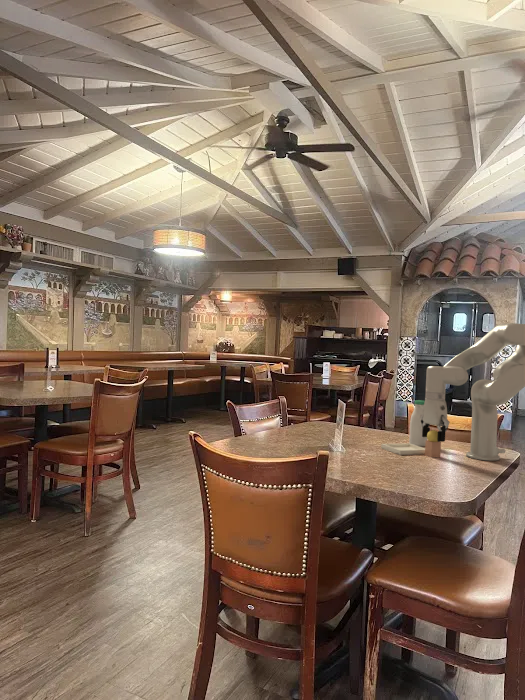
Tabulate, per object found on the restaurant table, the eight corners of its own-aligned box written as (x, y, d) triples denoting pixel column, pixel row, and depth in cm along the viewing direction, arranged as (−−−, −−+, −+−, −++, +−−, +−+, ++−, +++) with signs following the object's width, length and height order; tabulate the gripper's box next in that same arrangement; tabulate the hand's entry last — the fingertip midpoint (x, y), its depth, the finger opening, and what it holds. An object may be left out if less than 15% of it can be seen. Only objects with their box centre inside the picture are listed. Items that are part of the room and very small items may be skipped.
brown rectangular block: (433, 454, 209) (434, 440, 209) (440, 457, 205) (441, 442, 205) (424, 455, 208) (425, 440, 208) (431, 457, 204) (432, 442, 204)
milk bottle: (429, 447, 227) (431, 401, 226) (411, 446, 227) (413, 401, 227) (424, 443, 234) (425, 400, 234) (407, 443, 234) (408, 399, 234)
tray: (409, 447, 223) (409, 443, 223) (429, 454, 210) (429, 449, 210) (381, 448, 219) (381, 443, 219) (399, 455, 205) (400, 450, 205)
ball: (434, 441, 209) (435, 429, 209) (442, 443, 205) (442, 431, 205) (424, 441, 208) (424, 429, 208) (431, 443, 203) (432, 431, 203)
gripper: (457, 399, 199) (455, 443, 199) (429, 394, 216) (427, 435, 216) (441, 398, 197) (439, 443, 197) (414, 394, 213) (412, 435, 213)
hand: (433, 439), depth 206 cm, fingers open, 9 cm apart
